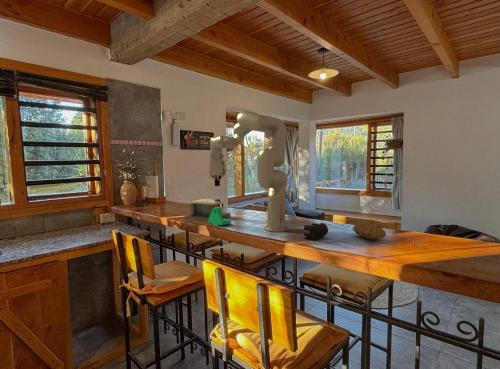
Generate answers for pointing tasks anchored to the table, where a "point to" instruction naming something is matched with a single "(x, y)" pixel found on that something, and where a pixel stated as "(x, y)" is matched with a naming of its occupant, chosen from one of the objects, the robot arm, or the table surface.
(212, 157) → the robot arm
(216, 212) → the camera mount
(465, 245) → the table surface
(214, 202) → the level plate
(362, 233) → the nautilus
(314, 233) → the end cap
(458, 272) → the table surface
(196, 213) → the leveling stand
